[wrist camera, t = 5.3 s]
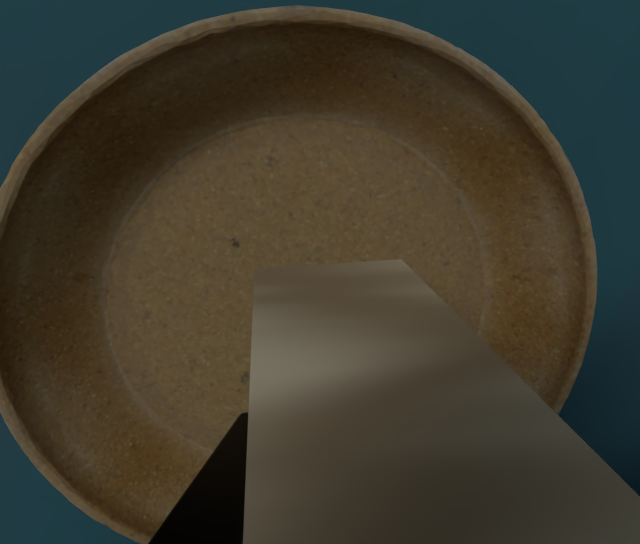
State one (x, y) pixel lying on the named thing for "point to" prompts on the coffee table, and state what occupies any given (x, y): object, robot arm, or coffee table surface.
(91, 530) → the coffee table surface
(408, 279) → the taupe streaky block
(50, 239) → the plant saucer
